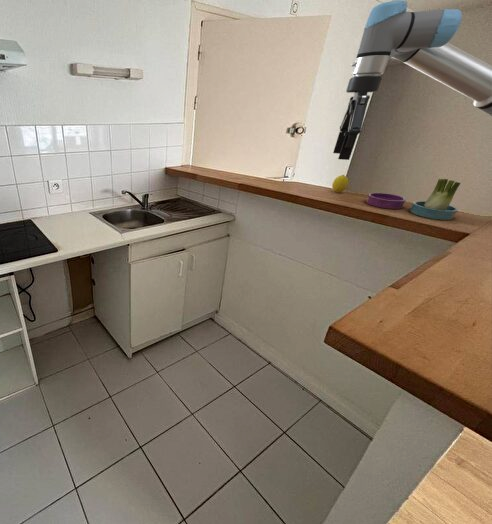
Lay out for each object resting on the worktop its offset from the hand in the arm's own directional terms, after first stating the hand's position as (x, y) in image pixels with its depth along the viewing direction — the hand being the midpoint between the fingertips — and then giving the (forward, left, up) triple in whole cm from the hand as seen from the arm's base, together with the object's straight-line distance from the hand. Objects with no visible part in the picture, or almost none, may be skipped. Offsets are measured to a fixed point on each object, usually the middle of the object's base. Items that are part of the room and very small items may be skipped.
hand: (340, 156), depth 89 cm
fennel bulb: (-35, -16, -20) cm, 43 cm away
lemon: (-9, -36, -20) cm, 42 cm away
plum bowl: (-23, -23, -20) cm, 38 cm away
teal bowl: (-35, -16, -20) cm, 43 cm away
